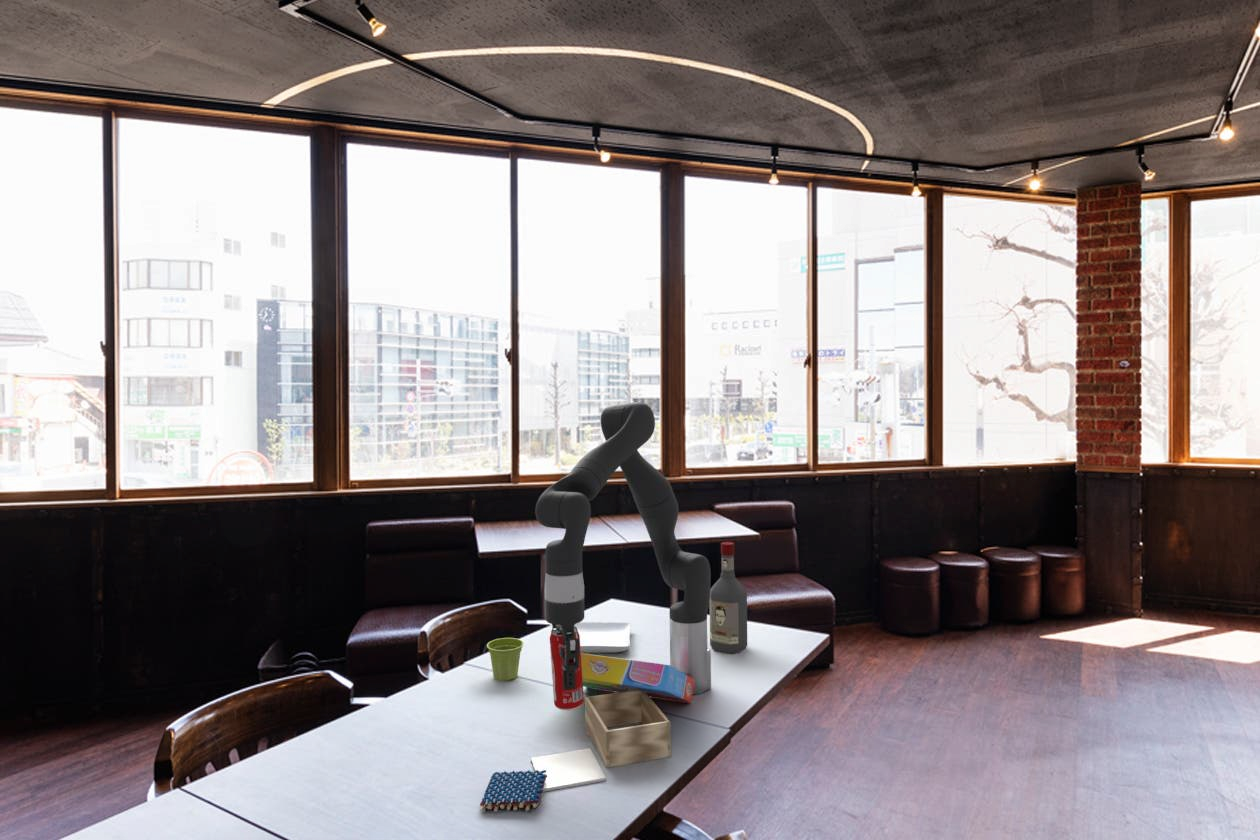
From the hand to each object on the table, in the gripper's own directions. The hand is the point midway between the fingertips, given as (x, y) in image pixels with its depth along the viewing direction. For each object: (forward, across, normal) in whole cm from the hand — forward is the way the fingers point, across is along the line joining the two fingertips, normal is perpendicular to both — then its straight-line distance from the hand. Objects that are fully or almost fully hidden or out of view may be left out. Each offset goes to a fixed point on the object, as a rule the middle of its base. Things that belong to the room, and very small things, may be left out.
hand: (565, 682), depth 138 cm
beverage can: (+5, 0, 0) cm, 5 cm away
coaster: (+17, 0, 0) cm, 17 cm away
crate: (+17, +7, -14) cm, 23 cm away
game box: (+10, +32, -8) cm, 34 cm away
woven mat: (+17, -6, +11) cm, 21 cm away
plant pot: (+17, +51, +5) cm, 54 cm away
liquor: (+17, +51, -58) cm, 79 cm away
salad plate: (+18, +68, -23) cm, 74 cm away
